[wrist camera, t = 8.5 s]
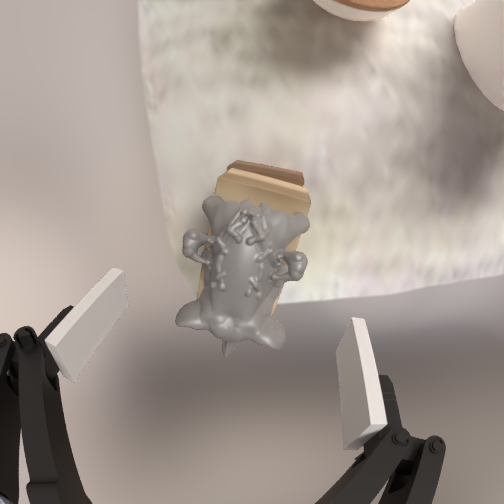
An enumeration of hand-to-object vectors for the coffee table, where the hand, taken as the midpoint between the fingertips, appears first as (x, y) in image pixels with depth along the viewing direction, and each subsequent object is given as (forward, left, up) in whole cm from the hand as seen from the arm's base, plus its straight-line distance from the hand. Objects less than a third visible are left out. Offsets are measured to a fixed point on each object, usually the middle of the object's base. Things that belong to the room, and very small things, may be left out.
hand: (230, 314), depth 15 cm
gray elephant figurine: (+1, 0, -8) cm, 8 cm away
